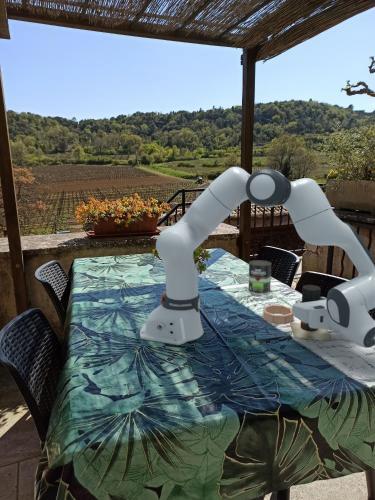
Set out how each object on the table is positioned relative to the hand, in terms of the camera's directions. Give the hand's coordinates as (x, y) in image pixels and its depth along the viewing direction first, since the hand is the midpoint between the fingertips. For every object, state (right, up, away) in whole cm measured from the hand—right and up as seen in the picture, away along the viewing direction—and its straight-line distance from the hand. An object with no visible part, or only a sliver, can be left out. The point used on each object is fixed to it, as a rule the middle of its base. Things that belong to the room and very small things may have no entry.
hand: (308, 300), depth 120 cm
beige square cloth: (0, -11, -1) cm, 11 cm away
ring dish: (-8, -8, +12) cm, 16 cm away
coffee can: (-9, -2, +42) cm, 43 cm away
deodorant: (+1, -10, +1) cm, 10 cm away
